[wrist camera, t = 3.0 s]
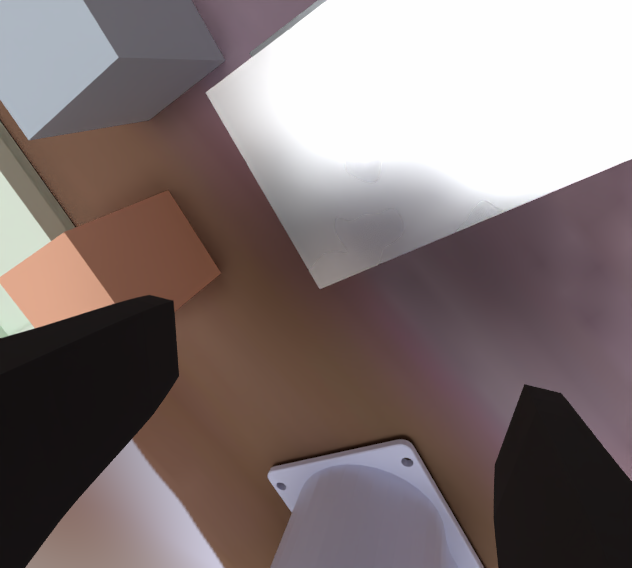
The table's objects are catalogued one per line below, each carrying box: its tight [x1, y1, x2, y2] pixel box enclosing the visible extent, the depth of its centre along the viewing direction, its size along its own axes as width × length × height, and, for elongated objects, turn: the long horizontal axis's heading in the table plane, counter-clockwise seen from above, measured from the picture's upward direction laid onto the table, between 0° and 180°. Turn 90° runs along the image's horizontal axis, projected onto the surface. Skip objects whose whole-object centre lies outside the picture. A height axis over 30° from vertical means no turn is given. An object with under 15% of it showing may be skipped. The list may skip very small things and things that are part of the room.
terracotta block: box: [0, 190, 221, 328], centre depth 17 cm, size 4×4×6 cm
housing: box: [206, 0, 632, 289], centre depth 11 cm, size 7×10×6 cm
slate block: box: [0, 0, 225, 140], centre depth 14 cm, size 4×4×6 cm
